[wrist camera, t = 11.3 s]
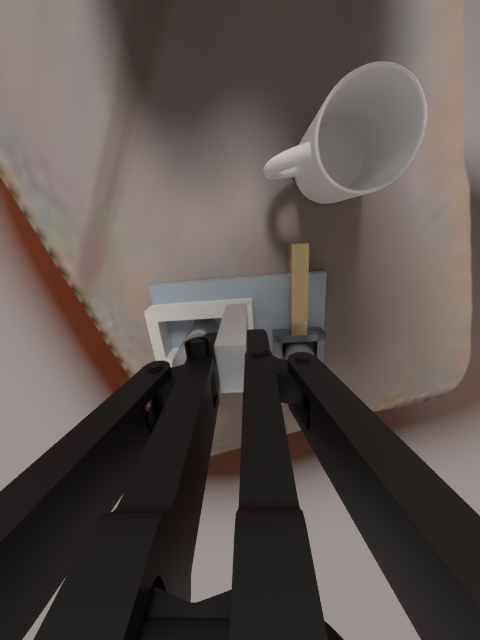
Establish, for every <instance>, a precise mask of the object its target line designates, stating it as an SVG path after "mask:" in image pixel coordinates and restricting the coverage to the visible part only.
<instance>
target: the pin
mask: <svg viewBox="0 0 480 640" xmlns="http://www.w3.org/2000/svg"><path fill="white" fill-rule="evenodd" d="M218 331H219V326H218V324H217V322H216V321H215V320H214V319H213V318H210V319H196V320H195V321H194V322H193V324H192V326H191V327H190V329H189V331H188V333H187V335H186V337H185V339H184V340H183V342H182V344H181V346H180V348H179V350H178V351H177V353H176V355H175V357H174V359H173V362H172V367H176V366H180V365H183V364H184V363H185V361H186V359H187V357H186V352H185V346H184V343H185V342H186V341H187V340H189V339H191V338H194V337H200V336H203V335H205V334H206V333H213V332H218Z"/></svg>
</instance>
